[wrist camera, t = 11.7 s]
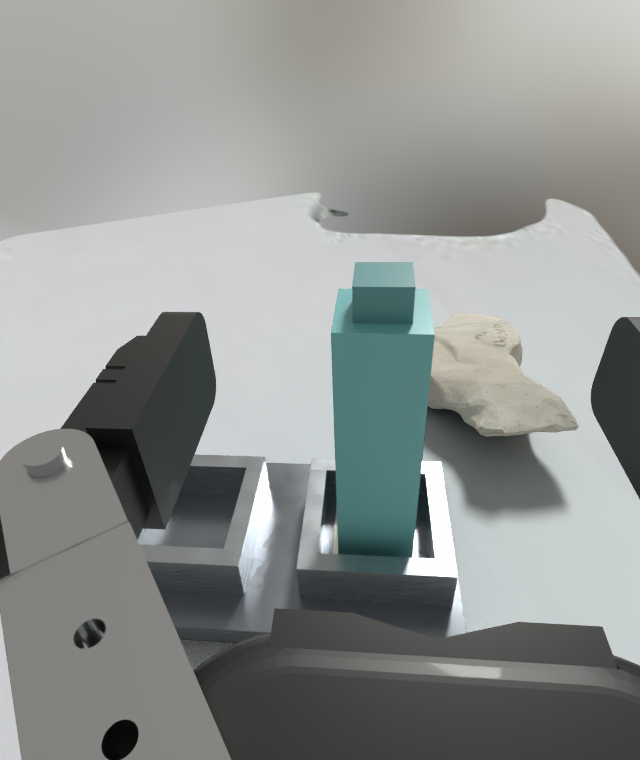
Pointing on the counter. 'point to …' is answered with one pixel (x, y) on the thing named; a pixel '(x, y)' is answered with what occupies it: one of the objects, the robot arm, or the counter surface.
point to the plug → (380, 407)
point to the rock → (490, 380)
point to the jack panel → (293, 553)
